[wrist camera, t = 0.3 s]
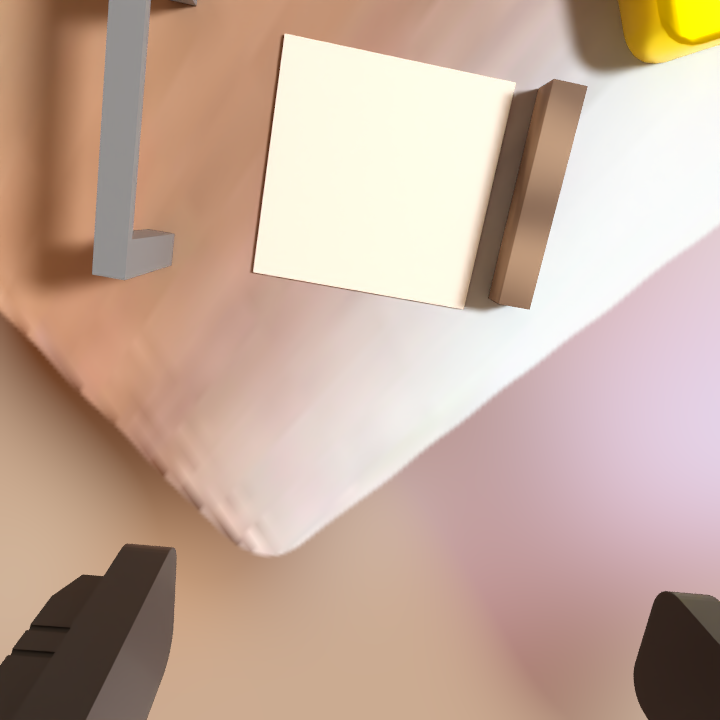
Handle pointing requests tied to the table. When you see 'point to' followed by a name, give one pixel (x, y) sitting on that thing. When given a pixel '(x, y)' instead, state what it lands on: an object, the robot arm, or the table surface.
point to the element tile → (669, 27)
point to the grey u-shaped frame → (124, 150)
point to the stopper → (536, 192)
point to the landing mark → (379, 172)
